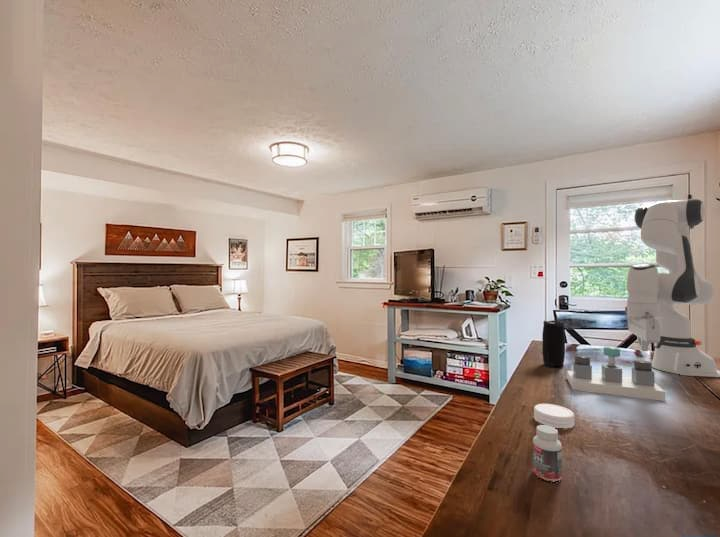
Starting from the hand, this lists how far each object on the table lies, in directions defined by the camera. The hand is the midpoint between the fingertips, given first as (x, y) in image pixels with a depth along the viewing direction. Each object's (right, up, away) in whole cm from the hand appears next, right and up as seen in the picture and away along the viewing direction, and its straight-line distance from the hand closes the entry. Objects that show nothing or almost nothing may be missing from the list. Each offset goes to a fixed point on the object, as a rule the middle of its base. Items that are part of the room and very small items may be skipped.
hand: (643, 350), depth 123 cm
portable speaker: (-13, -15, +33) cm, 38 cm away
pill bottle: (-60, -15, -50) cm, 79 cm away
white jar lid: (-44, -15, -24) cm, 52 cm away
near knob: (0, -10, 0) cm, 10 cm away
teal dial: (-9, -6, +3) cm, 11 cm away
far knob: (-17, -10, +7) cm, 21 cm away
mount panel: (-9, -14, +3) cm, 17 cm away
